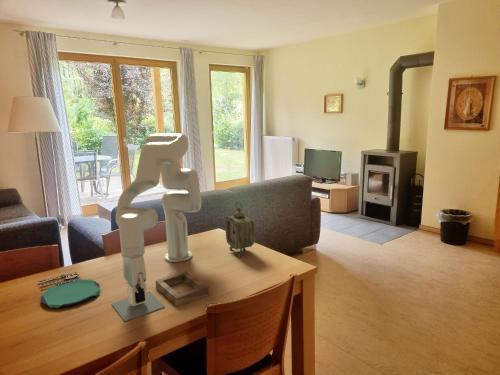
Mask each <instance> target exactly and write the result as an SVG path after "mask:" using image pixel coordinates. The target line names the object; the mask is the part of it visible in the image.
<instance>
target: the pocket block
mask: <svg viewBox="0 0 500 375" xmlns="http://www.w3.org/2000/svg"><path fill="white" fill-rule="evenodd" d="M182 282H184V283H186V284H187V285H189V286H190V287H191V288H192V290H191V289H190V290H188V291H184V292H183V293H178V292H177V291H176V290H174V289H173V288H172V287H171V286H174V285H177V284H179V283H182ZM155 288H156V289H157V290H158V291H159V292H160V293H161V294H162V295H164V296H165V297H166V298H167V299H168V300H169V301H170V302H171V303H173V304H174V305H175V306H176V307H180V306H183V305H184V304H188V303H189V302H193V301H196V300H199V299H201V298H205V297H206V296H209V295H210V290H209V288H210V286H208V285H206V284H205V283H204V282H202V281H200V280H199V279H197V277H196V276H195V277H194V276H193V275H192V274H190V273H189V272H187V271H186V270H185V271H181V272H178V273H175V274H172V275H170V276H166V277H162V278H158V279H155Z"/></svg>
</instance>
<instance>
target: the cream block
mask: <svg viewBox="0 0 500 375" xmlns="http://www.w3.org/2000/svg"><path fill="white" fill-rule="evenodd" d="M125 283H126V291H127V298H128V301H129V302H130V303H131V304H132V306H136V305H139V304H142V303H145V302H147V292H148V291H147V282H145V288H144V289H145V301H143V302H140V303H136V300H135V292H136V290H135V286H132V285H130V284H129V283H128V282H127V281H126V282H125ZM137 283H139V281H138V282H137ZM137 287H140V285H137Z"/></svg>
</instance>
